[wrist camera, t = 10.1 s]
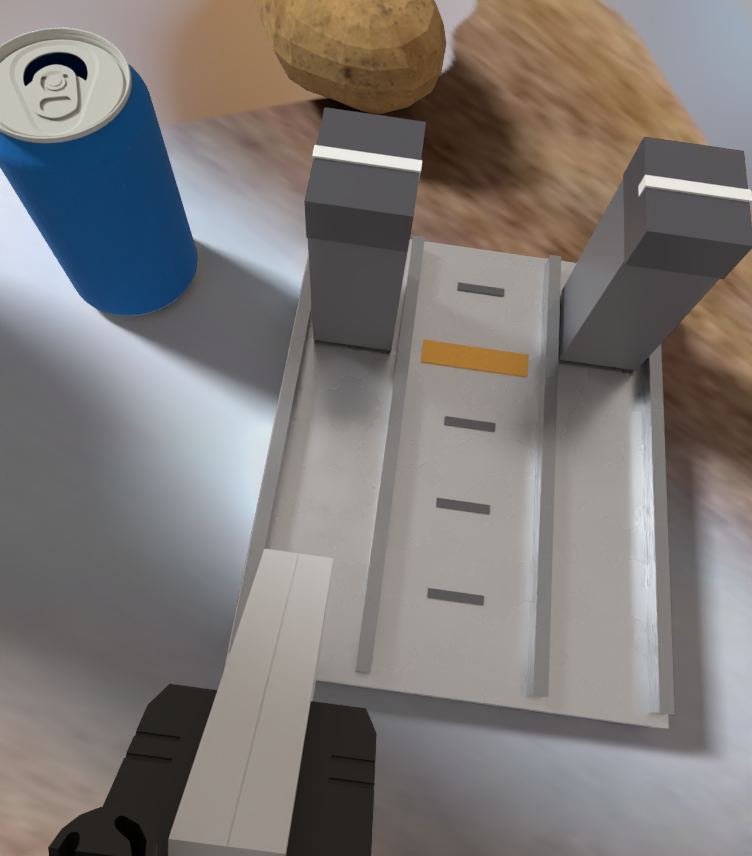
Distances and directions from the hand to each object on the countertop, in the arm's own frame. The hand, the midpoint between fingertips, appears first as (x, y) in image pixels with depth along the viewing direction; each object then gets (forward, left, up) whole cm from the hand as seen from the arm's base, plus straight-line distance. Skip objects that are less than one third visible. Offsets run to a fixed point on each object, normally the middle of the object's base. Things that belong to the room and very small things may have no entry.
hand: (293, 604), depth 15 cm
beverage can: (-12, +18, -16) cm, 27 cm away
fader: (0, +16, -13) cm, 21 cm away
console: (+6, +10, -16) cm, 19 cm away
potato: (-3, +34, -16) cm, 38 cm away
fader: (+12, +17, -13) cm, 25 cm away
